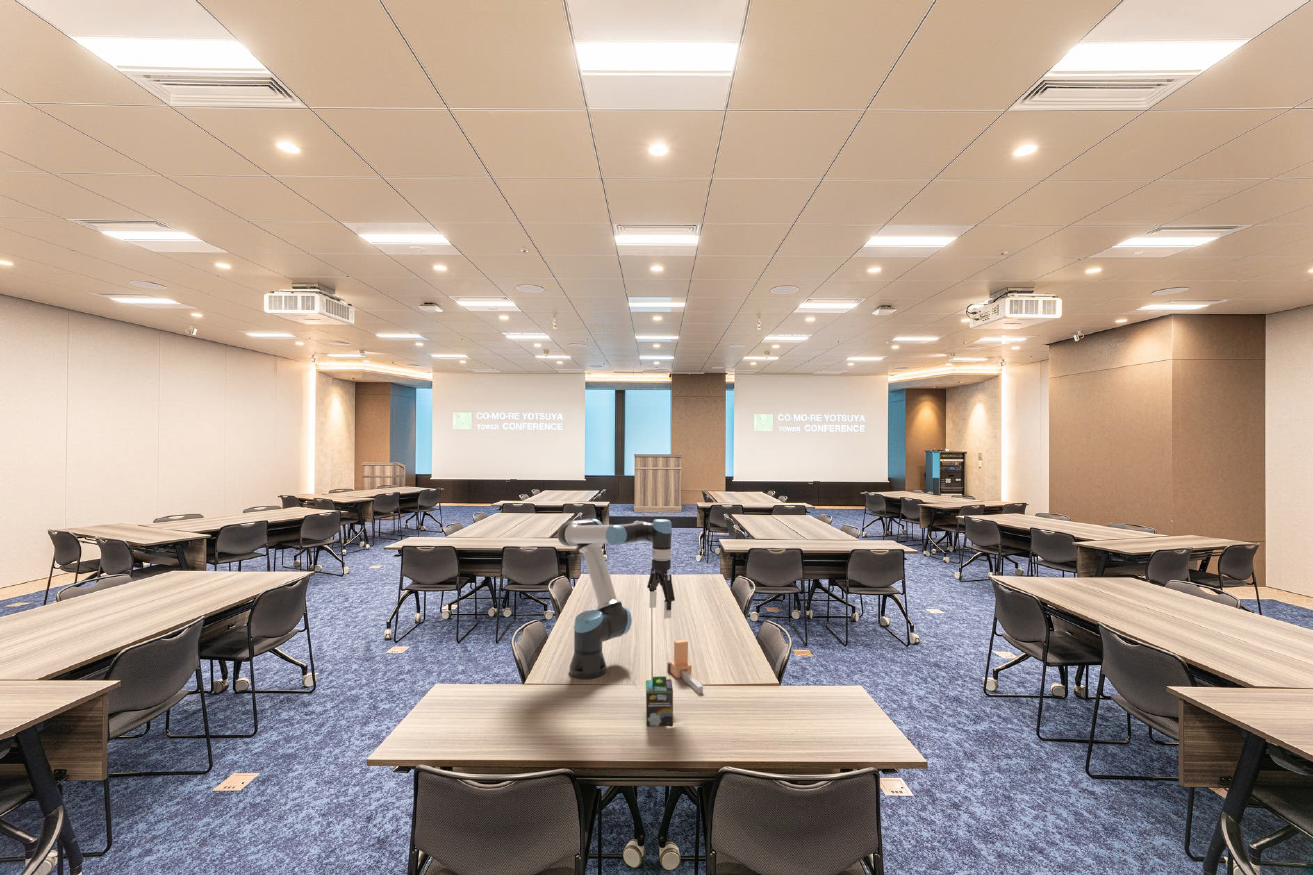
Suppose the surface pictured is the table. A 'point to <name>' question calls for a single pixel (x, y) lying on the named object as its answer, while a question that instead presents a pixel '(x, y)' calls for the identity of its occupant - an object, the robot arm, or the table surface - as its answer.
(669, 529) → the robot arm
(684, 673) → the rail
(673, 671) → the slider
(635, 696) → the table surface
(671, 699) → the chalk box
